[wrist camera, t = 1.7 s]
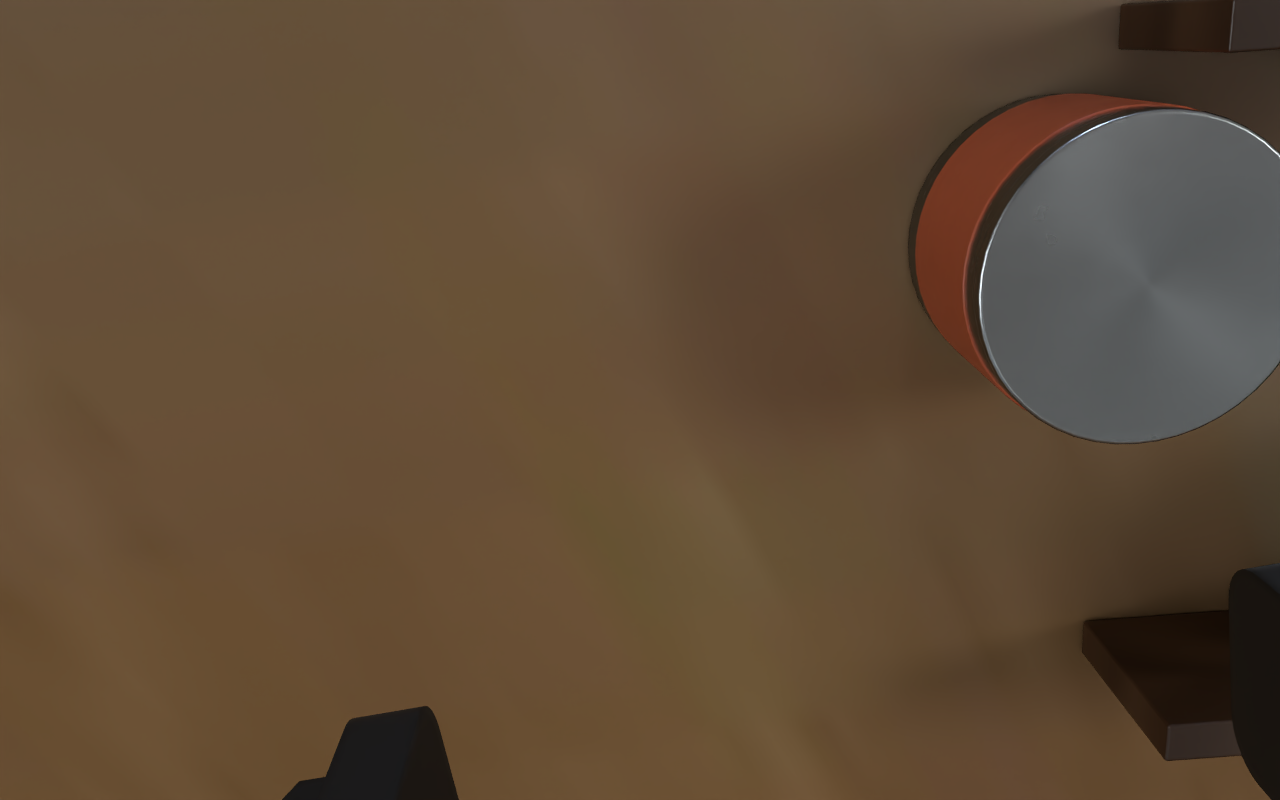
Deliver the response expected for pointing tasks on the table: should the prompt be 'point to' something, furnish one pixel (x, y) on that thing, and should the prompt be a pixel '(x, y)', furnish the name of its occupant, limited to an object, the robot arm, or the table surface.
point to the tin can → (1106, 261)
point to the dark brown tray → (1199, 642)
